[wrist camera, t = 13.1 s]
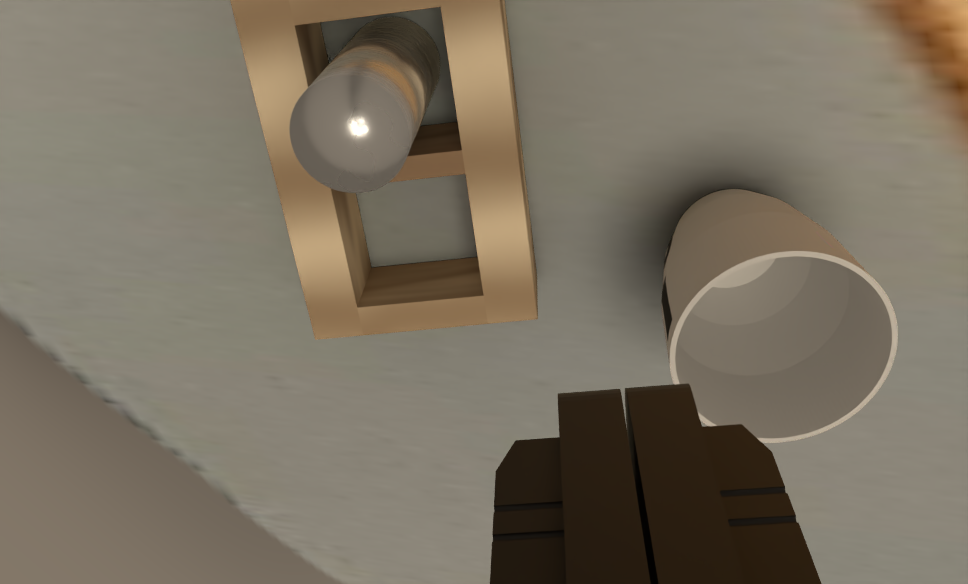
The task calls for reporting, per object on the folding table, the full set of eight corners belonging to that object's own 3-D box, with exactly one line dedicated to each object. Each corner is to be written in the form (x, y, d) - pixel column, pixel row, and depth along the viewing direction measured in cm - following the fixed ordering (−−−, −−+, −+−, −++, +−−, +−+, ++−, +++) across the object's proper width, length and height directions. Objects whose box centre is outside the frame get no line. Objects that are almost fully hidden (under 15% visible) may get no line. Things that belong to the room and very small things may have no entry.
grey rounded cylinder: (339, 22, 38) (277, 82, 29) (433, 11, 38) (399, 69, 29) (356, 114, 40) (303, 198, 31) (446, 105, 39) (418, 187, 31)
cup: (611, 204, 41) (633, 310, 32) (782, 124, 39) (856, 213, 30) (681, 341, 44) (719, 471, 36) (843, 273, 42) (926, 393, 34)
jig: (257, -22, 37) (228, -6, 34) (498, -55, 36) (494, -41, 33) (332, 297, 44) (315, 339, 41) (537, 277, 43) (537, 319, 40)
